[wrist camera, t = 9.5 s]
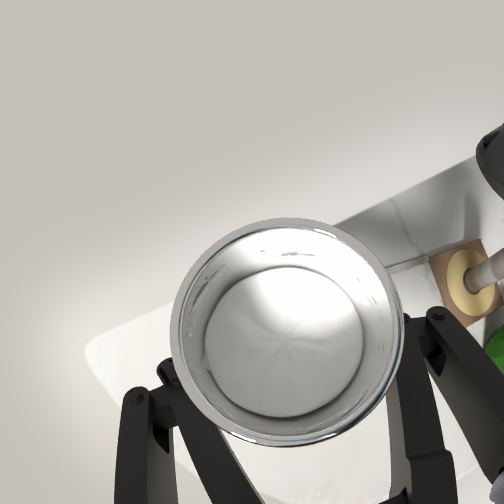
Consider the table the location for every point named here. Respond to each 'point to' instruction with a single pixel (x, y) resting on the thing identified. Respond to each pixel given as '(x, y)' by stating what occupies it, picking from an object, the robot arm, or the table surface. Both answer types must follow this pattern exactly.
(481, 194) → the table surface
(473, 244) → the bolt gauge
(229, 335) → the beer glass
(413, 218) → the table surface
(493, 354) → the bell pepper
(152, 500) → the robot arm
